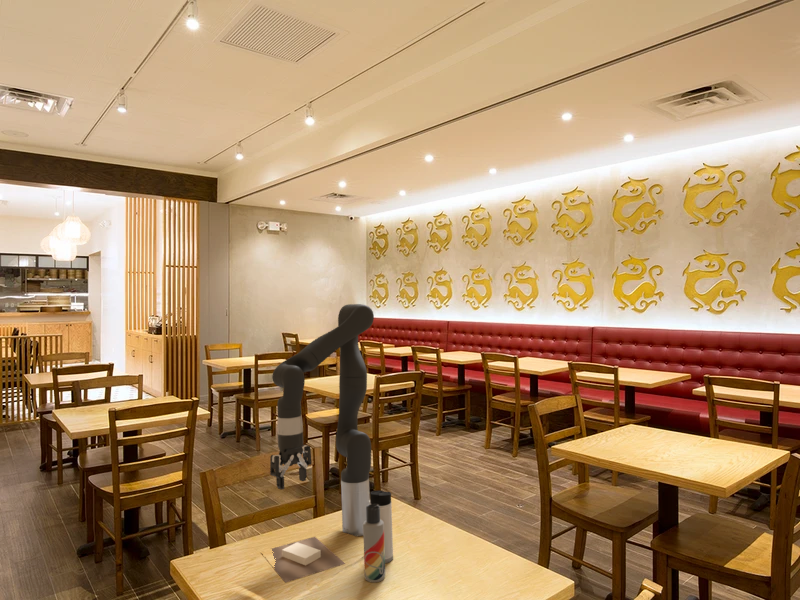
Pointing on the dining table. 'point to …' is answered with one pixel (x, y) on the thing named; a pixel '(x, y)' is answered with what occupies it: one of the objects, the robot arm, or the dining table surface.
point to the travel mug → (385, 519)
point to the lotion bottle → (374, 544)
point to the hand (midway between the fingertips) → (292, 484)
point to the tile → (301, 553)
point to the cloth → (296, 570)
